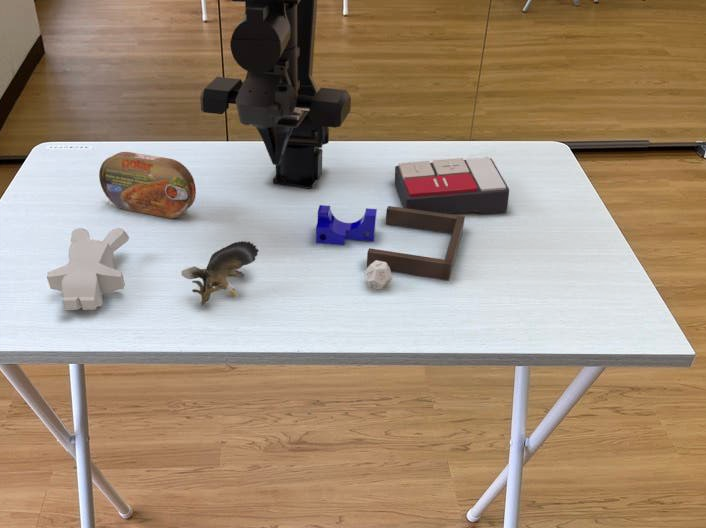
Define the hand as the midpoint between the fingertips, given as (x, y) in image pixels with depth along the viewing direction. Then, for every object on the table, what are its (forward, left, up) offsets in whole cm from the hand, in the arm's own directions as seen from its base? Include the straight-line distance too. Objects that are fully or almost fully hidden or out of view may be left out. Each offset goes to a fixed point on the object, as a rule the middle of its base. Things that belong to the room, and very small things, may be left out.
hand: (276, 163), depth 105 cm
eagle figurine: (-2, -17, -10) cm, 20 cm away
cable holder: (+10, 0, -10) cm, 14 cm away
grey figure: (-19, -20, -10) cm, 29 cm away
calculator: (+22, +16, -10) cm, 29 cm away
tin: (-20, 0, -10) cm, 22 cm away
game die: (+17, -10, -10) cm, 22 cm away
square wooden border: (+20, 0, -10) cm, 22 cm away
